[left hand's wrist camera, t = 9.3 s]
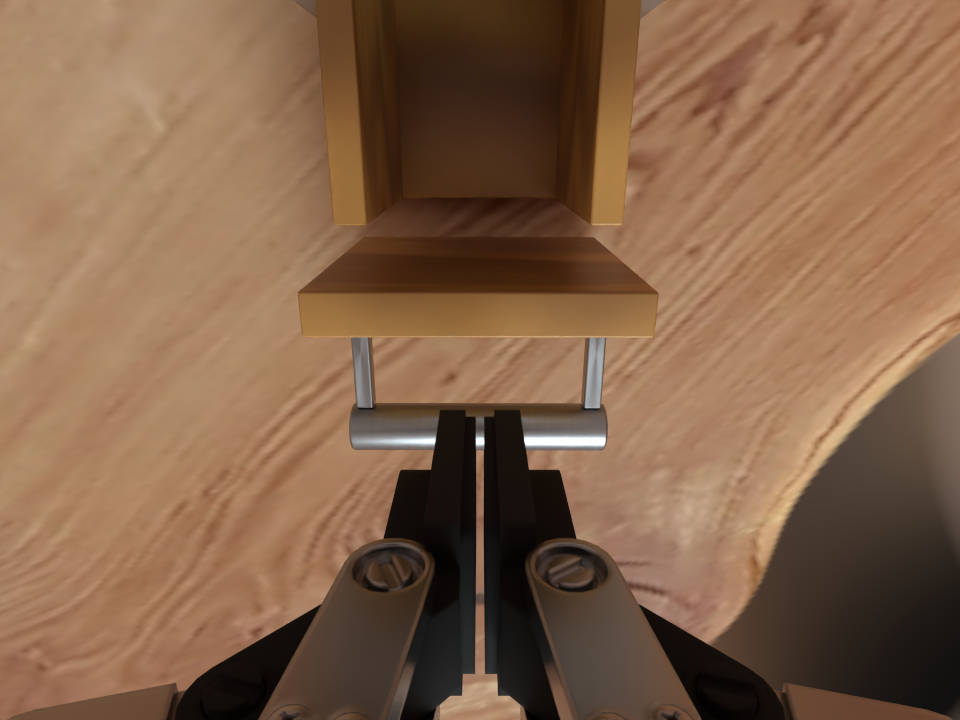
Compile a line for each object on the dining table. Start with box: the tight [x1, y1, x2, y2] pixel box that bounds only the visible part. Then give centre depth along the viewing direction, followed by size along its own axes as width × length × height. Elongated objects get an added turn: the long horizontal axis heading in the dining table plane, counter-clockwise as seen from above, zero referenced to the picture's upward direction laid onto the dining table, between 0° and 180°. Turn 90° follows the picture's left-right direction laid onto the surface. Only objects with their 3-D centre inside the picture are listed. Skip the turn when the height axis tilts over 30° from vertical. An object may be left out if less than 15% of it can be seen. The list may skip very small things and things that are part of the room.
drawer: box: [298, 0, 659, 450], centre depth 17 cm, size 24×9×9 cm, turn 0°
